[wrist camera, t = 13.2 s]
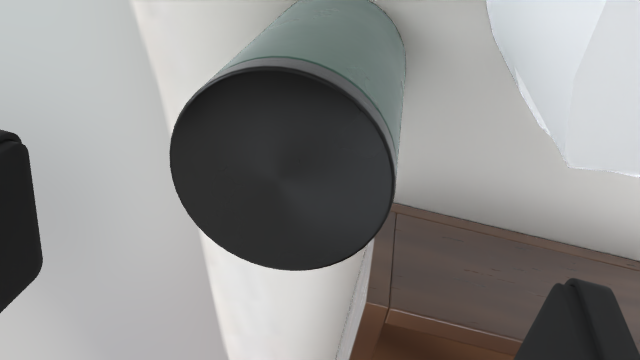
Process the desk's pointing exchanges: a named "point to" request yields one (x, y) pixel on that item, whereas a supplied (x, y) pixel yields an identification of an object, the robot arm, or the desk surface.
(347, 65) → the canister
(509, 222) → the desk surface
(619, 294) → the tea box
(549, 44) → the cylinder with rectangular tab
